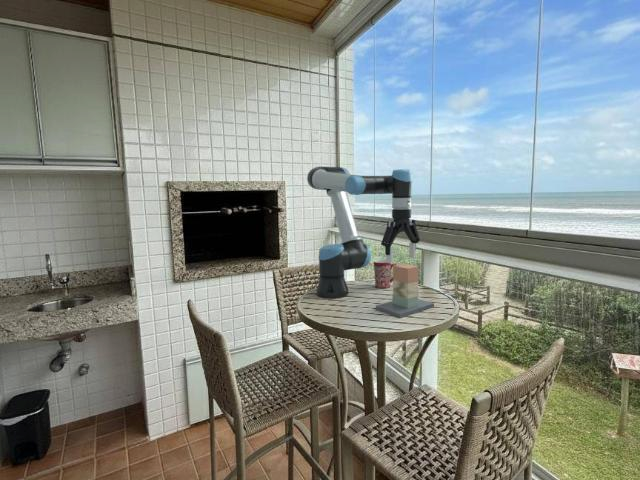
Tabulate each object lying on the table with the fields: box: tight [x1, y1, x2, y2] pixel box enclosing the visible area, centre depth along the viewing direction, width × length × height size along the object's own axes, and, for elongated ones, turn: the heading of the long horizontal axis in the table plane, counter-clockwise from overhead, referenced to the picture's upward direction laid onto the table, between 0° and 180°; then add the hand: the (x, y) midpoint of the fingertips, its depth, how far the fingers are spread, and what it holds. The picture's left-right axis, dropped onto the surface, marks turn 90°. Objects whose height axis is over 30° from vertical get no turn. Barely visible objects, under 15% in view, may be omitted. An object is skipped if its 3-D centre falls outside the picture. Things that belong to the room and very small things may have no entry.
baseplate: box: [375, 293, 435, 319], centre depth 135 cm, size 13×20×6 cm, turn 125°
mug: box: [372, 258, 398, 290], centre depth 167 cm, size 13×9×14 cm
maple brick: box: [392, 280, 419, 299], centre depth 134 cm, size 8×6×6 cm
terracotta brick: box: [392, 263, 420, 284], centre depth 133 cm, size 8×6×6 cm
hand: (400, 260), depth 136 cm, fingers open, 13 cm apart
